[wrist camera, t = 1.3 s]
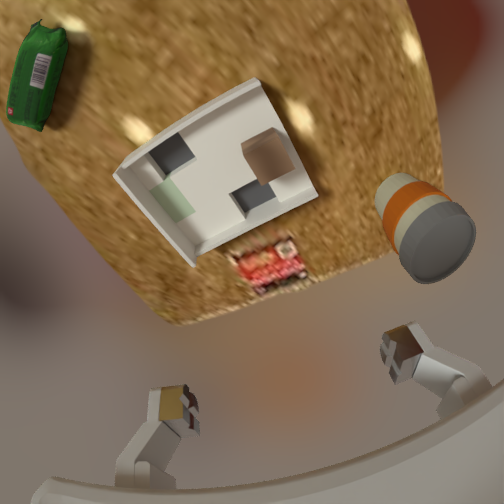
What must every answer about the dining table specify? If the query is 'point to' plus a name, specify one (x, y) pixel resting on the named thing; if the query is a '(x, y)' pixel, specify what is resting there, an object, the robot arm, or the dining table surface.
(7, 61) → the dining table surface
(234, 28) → the dining table surface
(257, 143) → the walnut cube
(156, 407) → the robot arm
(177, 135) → the box
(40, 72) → the snack package
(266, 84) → the dining table surface
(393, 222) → the reusable coffee cup
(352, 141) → the dining table surface
